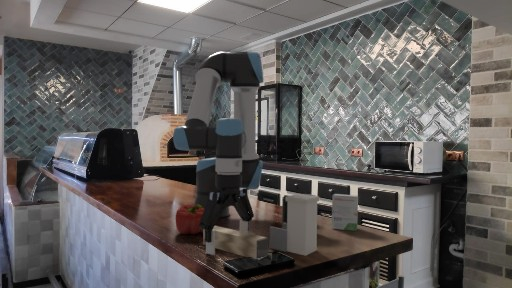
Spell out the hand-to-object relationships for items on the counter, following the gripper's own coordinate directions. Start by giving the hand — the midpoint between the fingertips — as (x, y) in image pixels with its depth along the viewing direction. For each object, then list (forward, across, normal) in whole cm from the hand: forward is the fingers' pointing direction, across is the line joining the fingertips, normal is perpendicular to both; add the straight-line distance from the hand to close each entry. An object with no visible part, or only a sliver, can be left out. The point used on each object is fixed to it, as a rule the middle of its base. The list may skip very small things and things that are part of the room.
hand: (227, 248), depth 102 cm
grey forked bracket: (0, +12, -14) cm, 19 cm away
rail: (0, 0, -2) cm, 2 cm away
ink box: (0, +44, -15) cm, 47 cm away
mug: (0, +41, +3) cm, 41 cm away
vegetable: (0, +4, +20) cm, 21 cm away
